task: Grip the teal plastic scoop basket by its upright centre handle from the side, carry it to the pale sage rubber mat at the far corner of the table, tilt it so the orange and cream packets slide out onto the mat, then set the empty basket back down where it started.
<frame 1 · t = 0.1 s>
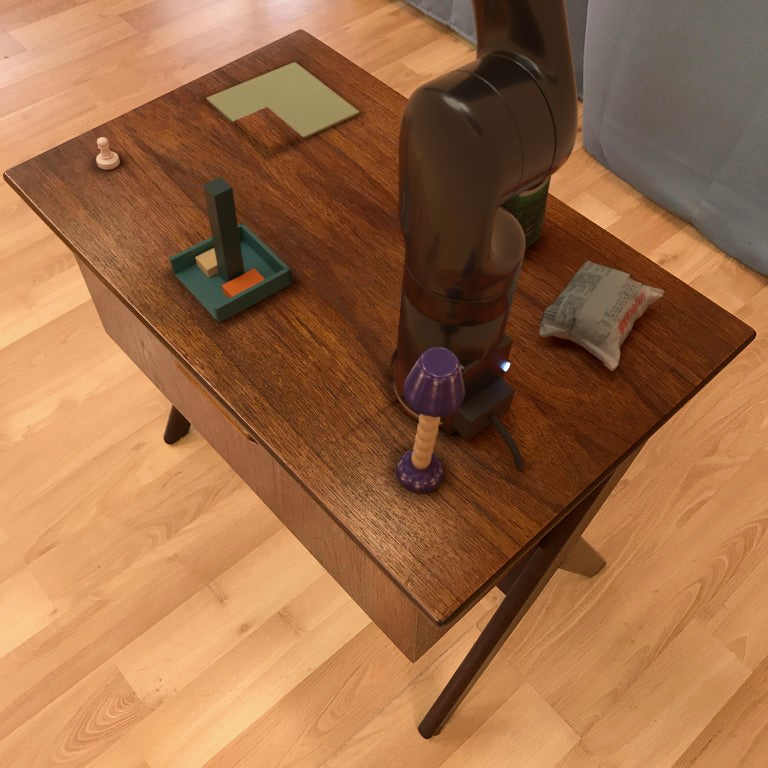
basket: (232, 281, 84), on the table, touching cream packet, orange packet
mat: (282, 107, 102), on the table
toy lamp: (420, 477, 71), on the table
packaged food: (596, 327, 82), on the table
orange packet: (245, 291, 82), point 1 cm above the table, touching basket
chess pawn: (109, 164, 94), on the table
cream packet: (218, 263, 84), point 1 cm above the table, touching basket
coffee jar: (495, 237, 90), on the table
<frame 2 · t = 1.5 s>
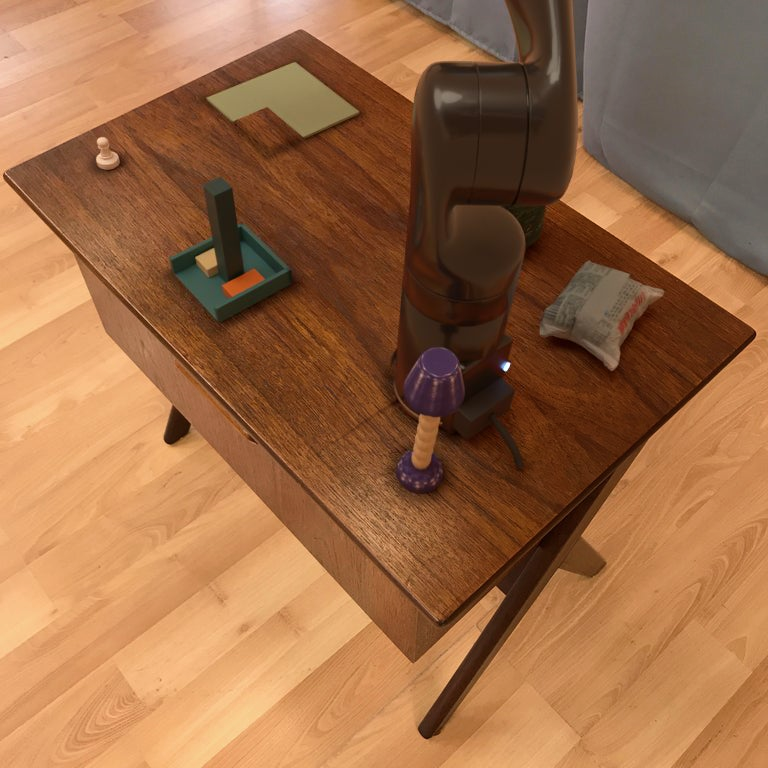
nothing on the table moved.
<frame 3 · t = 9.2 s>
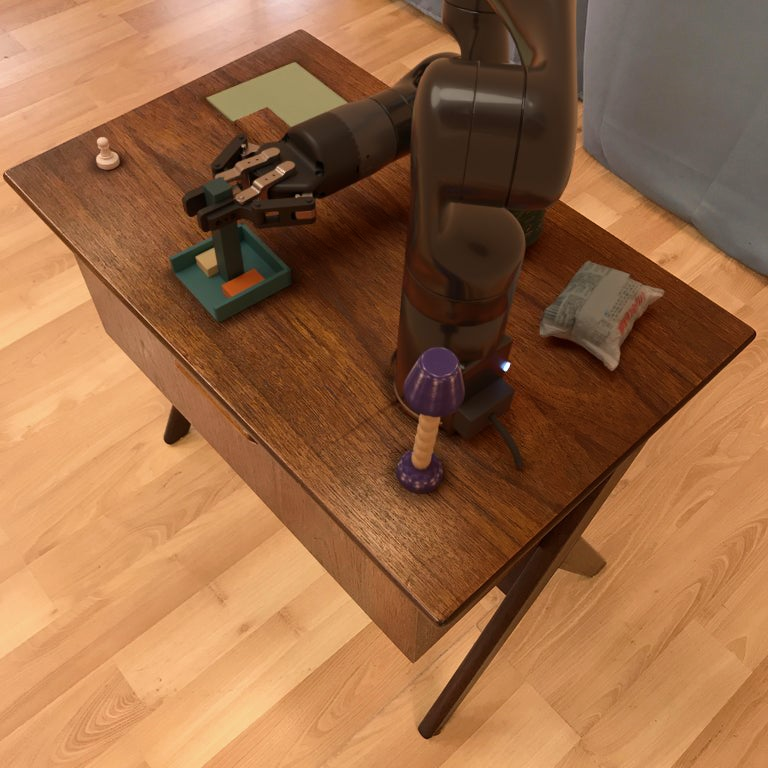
hand: (193, 215, 74), 11 cm above the table, tool horizontal, fingers closed on basket
basket: (232, 281, 84), on the table, touching cream packet, gripper, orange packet
everything else where it was.
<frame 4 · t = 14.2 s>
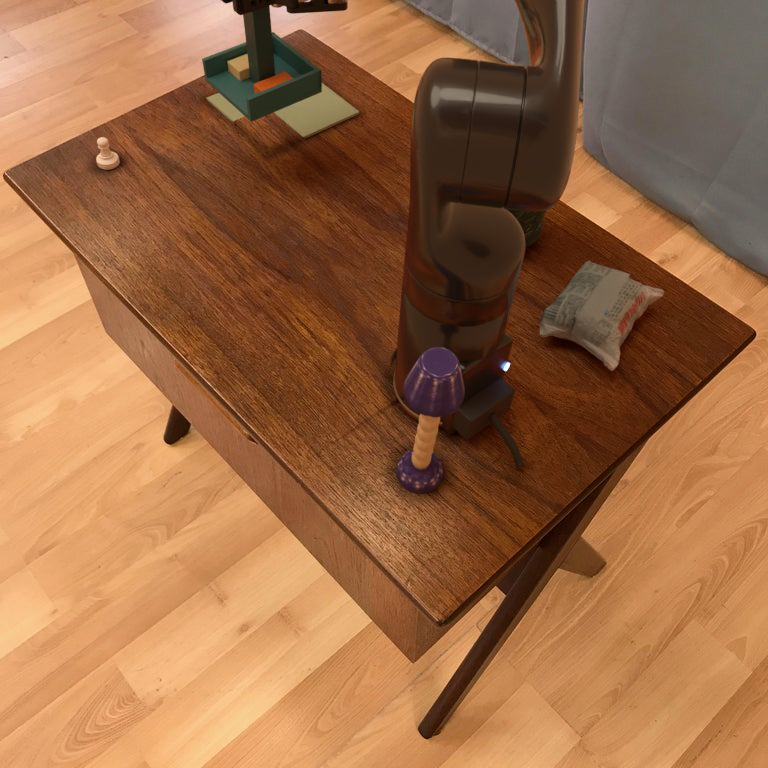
basket: (263, 86, 86), point 11 cm above the table, touching cream packet, gripper, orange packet
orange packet: (276, 92, 84), point 12 cm above the table, touching basket
cream packet: (250, 70, 86), point 12 cm above the table, touching basket
everything else where it was.
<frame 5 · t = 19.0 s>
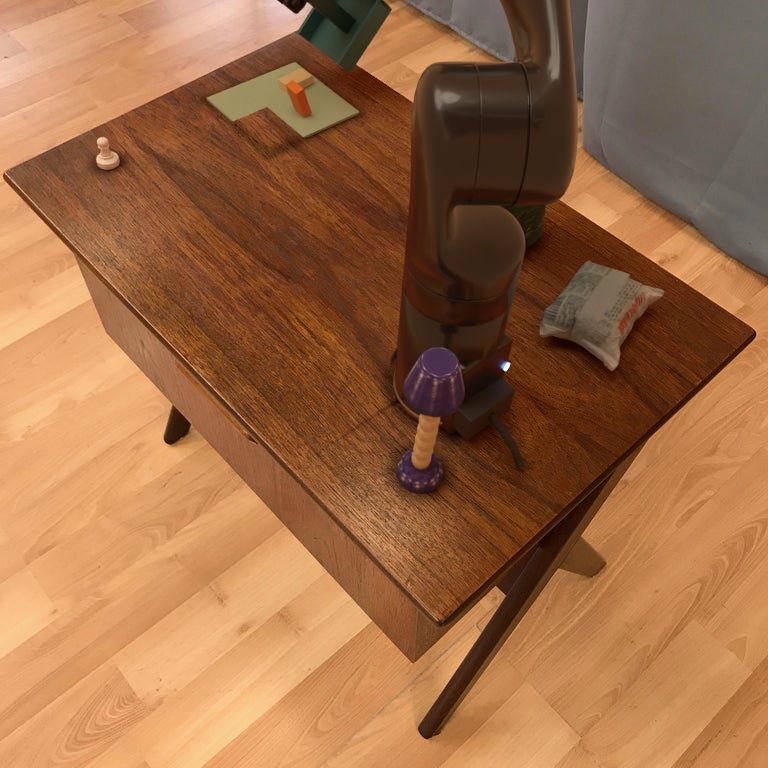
hand: (283, 4, 92), 13 cm above the table, tool tilted 45°, fingers closed on basket
basket: (349, 26, 100), point 8 cm above the table, tilted 44°, touching gripper
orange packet: (302, 96, 99), point 3 cm above the table, tilted 106°, touching mat
cream packet: (295, 85, 105), resting on mat
everything else where it was.
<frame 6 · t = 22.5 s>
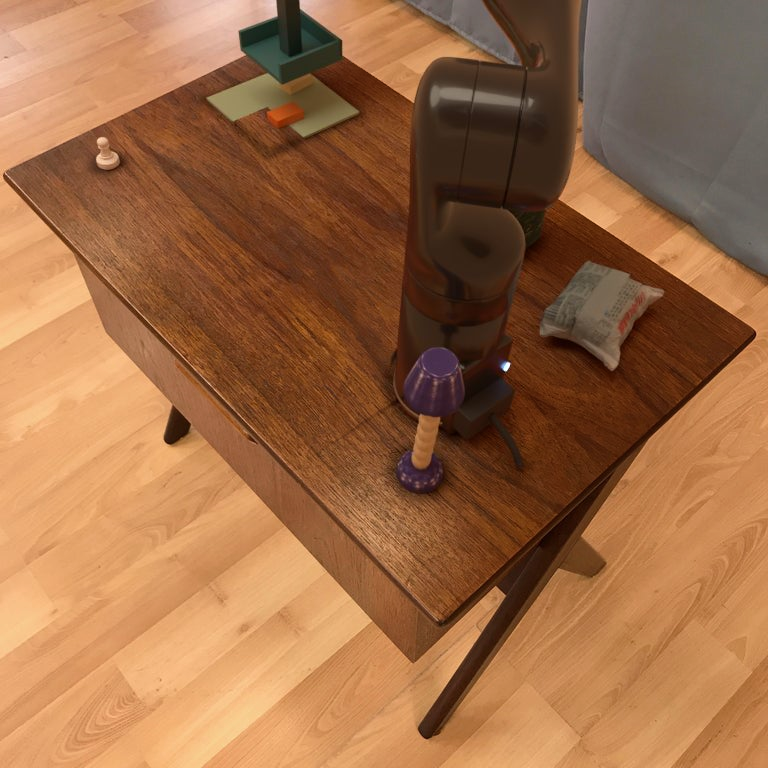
basket: (291, 55, 98), point 6 cm above the table, touching gripper
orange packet: (285, 111, 99), point 2 cm above the table, tilted 180°, touching mat
everything else where it was.
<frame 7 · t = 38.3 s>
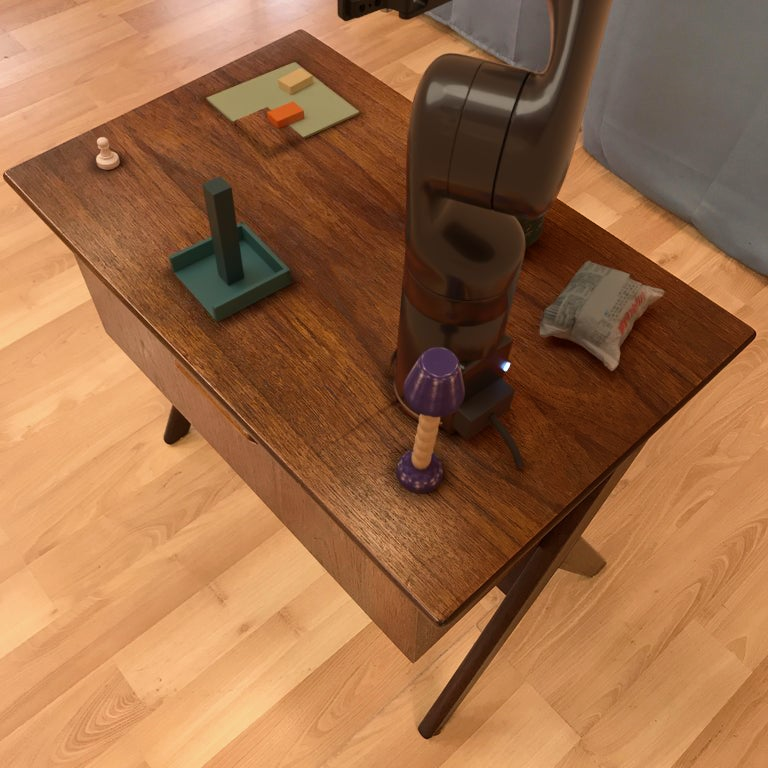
basket: (232, 280, 84), on the table
everything else where it was.
at the end: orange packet inside the target area on the mat (3.2 cm from its centre), point 1.6 cm above the mat's base; cream packet inside the target area on the mat (4.5 cm from its centre), point 0.4 cm above the mat's base; basket tilted 0° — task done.
